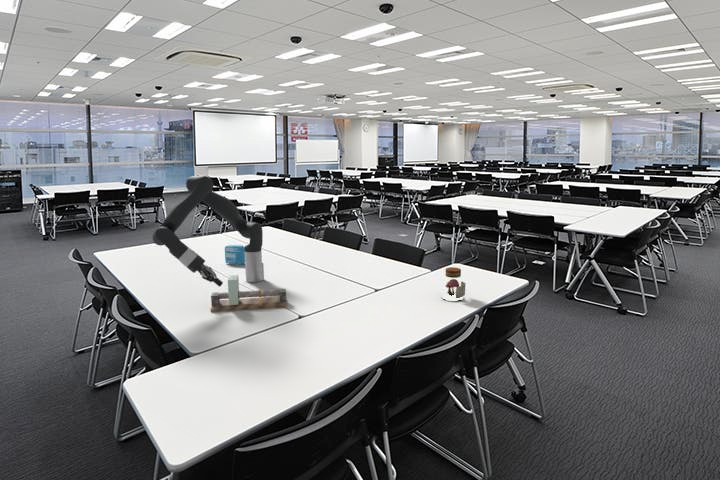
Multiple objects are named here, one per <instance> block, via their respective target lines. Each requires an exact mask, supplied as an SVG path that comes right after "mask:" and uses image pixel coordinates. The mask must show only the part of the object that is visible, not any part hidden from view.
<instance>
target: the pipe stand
mask: <svg viewBox="0 0 720 480" xmlns="http://www.w3.org/2000/svg"><path fill="white" fill-rule="evenodd" d="M238 298H240V300H239V304H238V305H229V293H228V291H226V292H225V291H224V292H223V291H221V292H219V291H217V292H215V291H214V292H212V293H211V295H210V299H211V300H210V301H211V307H210V312H211V313H216V312H218V311H219V312H233V311H244V310H245V311H248V310H249V311H250V310H262V309H263V310H264V309H279V308H282V309H283V308H288V307H287V306H288V303H287V288H278V289H263V290H262V289H259V290H243V291H242V290H241V291H240V290H239V292H238Z"/></svg>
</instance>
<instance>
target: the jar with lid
mask: <svg viewBox="0 0 720 480" xmlns="http://www.w3.org/2000/svg"><path fill="white" fill-rule="evenodd" d="M445 277H447V278H451V279H449V281H447V282H446V284H445V287H446V288H447V289H448V290H447V292H446V294H449V295H451V296H452V295H454V294H456V298H460V297H464V296H466V282H464V281H461V282H460V283H459V281H458V280H457V279H458V278H461V277H462V269H461V268H459V267H455V266H454V267H447V268H445ZM454 288H456V289H455V290H454Z"/></svg>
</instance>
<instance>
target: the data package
mask: <svg viewBox="0 0 720 480" xmlns="http://www.w3.org/2000/svg"><path fill="white" fill-rule="evenodd" d="M244 247H245V245H241V244H239V245H238V244H228V245H226V246H225V247H224V261H225V264H226V263H229V264H228V265H234V264H241V265H244V264H245V251H244Z"/></svg>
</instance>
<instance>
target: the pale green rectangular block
mask: <svg viewBox="0 0 720 480" xmlns="http://www.w3.org/2000/svg"><path fill="white" fill-rule="evenodd" d="M239 282H240V280H239V274H234V275H228V279H227V292H228V293H229V299H228V300H229V305H238V304H239V300H240V299H241V298H238V292H239V291H240V285H239V284H240V283H239Z"/></svg>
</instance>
